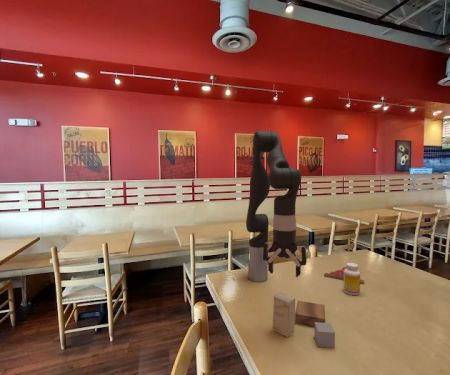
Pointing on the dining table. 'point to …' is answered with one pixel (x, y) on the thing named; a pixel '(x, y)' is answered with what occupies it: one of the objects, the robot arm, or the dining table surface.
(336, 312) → the dining table surface
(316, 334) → the grey cube
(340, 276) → the pepperoni pizza slice
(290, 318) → the skincare box
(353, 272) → the supplement bottle
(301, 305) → the walnut block
